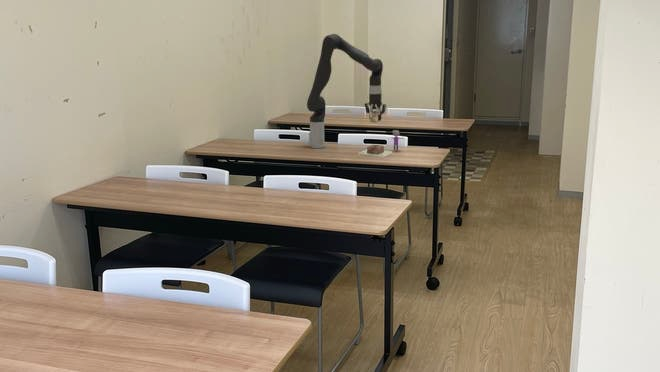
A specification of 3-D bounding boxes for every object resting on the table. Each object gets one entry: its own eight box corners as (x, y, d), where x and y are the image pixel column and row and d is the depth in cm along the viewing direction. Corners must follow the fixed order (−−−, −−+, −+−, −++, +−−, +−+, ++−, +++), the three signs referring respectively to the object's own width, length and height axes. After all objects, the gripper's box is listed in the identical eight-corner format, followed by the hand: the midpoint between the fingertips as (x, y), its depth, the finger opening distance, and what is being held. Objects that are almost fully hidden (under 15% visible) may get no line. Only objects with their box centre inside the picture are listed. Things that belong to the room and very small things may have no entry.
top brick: (369, 122, 381) (369, 111, 379) (373, 120, 385) (373, 110, 383) (377, 122, 378) (377, 112, 376) (380, 121, 382) (380, 110, 380)
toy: (404, 152, 393) (404, 128, 389) (404, 154, 388) (404, 130, 383) (387, 151, 394) (387, 128, 390) (387, 154, 389) (387, 130, 384)
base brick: (366, 153, 386) (366, 147, 385) (372, 150, 393) (372, 144, 392) (378, 154, 382) (378, 148, 381) (383, 151, 389) (384, 145, 388)
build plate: (357, 155, 386) (357, 152, 386) (367, 150, 398) (367, 147, 397) (384, 158, 378) (384, 155, 377) (393, 153, 390) (393, 150, 389)
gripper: (361, 92, 377) (362, 120, 381) (383, 94, 370) (383, 122, 375) (367, 91, 383) (367, 118, 388) (388, 92, 376) (388, 120, 381)
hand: (375, 120), depth 381 cm, fingers closed on top brick, 5 cm apart
